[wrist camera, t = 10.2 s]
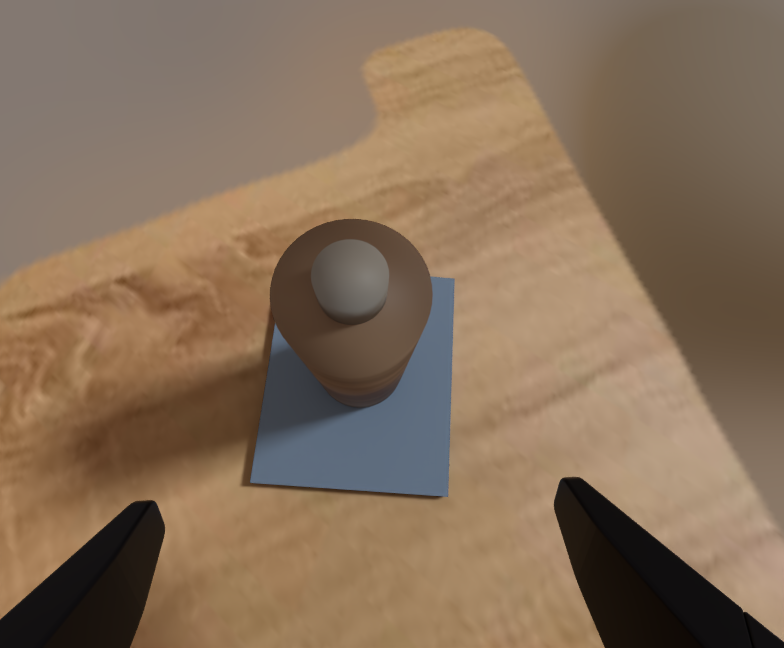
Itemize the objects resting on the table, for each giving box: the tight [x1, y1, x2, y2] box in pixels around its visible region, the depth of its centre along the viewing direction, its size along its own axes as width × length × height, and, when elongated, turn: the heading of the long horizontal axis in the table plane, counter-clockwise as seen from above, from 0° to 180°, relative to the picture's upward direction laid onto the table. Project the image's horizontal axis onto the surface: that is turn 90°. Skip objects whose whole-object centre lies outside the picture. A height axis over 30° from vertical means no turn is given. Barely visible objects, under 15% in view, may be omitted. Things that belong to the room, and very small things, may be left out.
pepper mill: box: [270, 219, 433, 408], centre depth 17 cm, size 5×5×13 cm
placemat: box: [250, 277, 454, 497], centre depth 23 cm, size 12×10×1 cm
